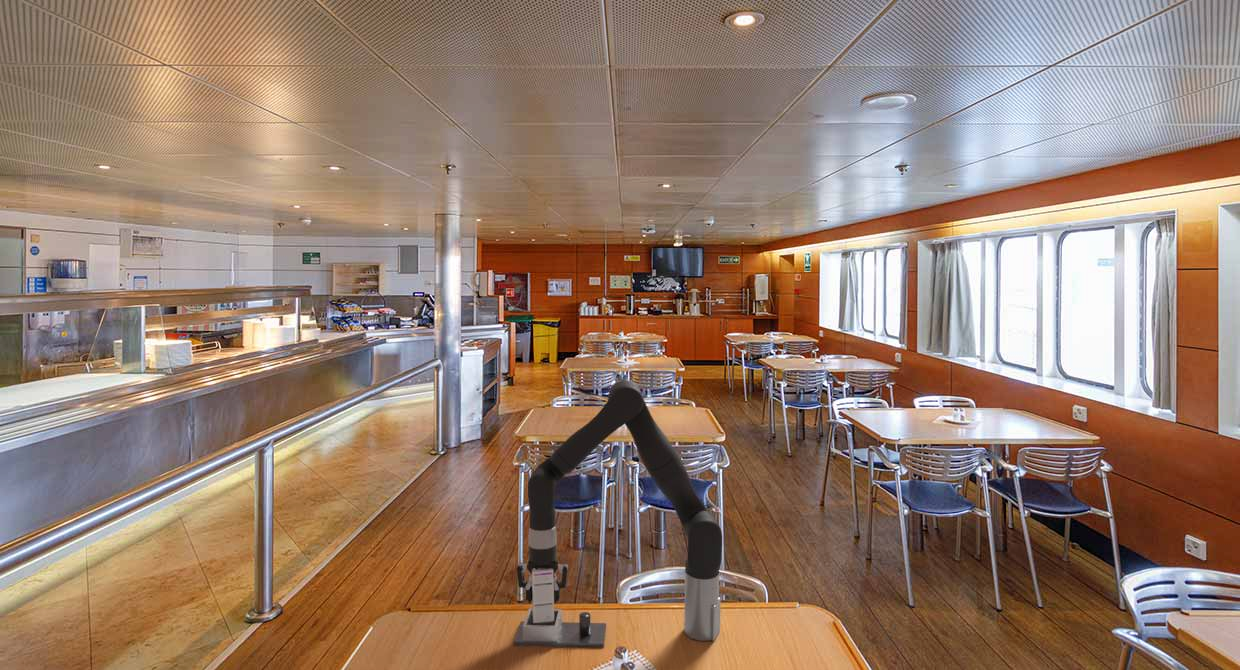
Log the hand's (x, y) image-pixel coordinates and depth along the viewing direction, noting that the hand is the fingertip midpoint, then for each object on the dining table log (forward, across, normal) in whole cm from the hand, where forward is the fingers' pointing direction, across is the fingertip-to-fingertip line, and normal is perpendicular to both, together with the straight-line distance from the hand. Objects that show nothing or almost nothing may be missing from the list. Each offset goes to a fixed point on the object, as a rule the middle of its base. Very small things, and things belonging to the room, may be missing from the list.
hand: (542, 601), depth 170 cm
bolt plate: (+10, -5, 0) cm, 11 cm away
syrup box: (+5, 0, 0) cm, 5 cm away
